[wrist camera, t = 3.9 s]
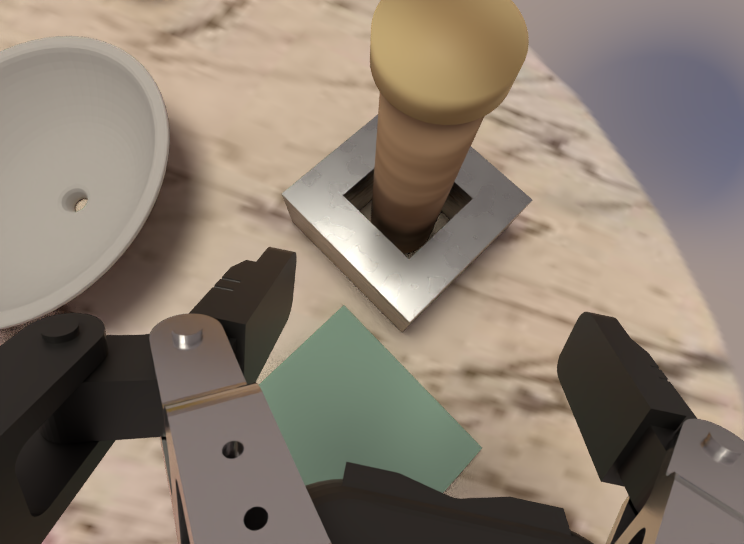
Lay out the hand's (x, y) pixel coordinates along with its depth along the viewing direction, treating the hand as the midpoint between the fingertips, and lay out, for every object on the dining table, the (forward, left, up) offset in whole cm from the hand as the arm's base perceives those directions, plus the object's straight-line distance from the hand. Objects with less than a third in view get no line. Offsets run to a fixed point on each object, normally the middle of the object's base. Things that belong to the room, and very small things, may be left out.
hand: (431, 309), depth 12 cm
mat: (-6, -2, -14) cm, 15 cm away
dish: (-8, +20, -14) cm, 26 cm away
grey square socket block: (+6, +5, -14) cm, 16 cm away
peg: (+6, +5, -14) cm, 16 cm away
